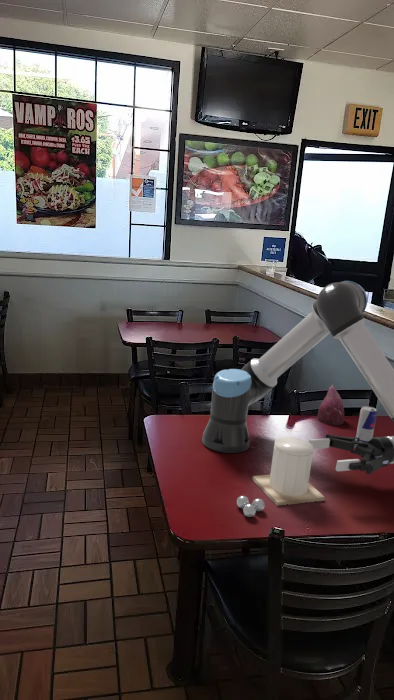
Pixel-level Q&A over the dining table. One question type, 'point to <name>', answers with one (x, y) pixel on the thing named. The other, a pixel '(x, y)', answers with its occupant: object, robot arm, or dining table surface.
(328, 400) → the vegetable
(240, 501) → the marble
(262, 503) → the marble
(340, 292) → the robot arm
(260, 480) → the coaster
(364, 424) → the energy drink
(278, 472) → the white rounded cylinder
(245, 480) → the dining table surface
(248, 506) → the marble
